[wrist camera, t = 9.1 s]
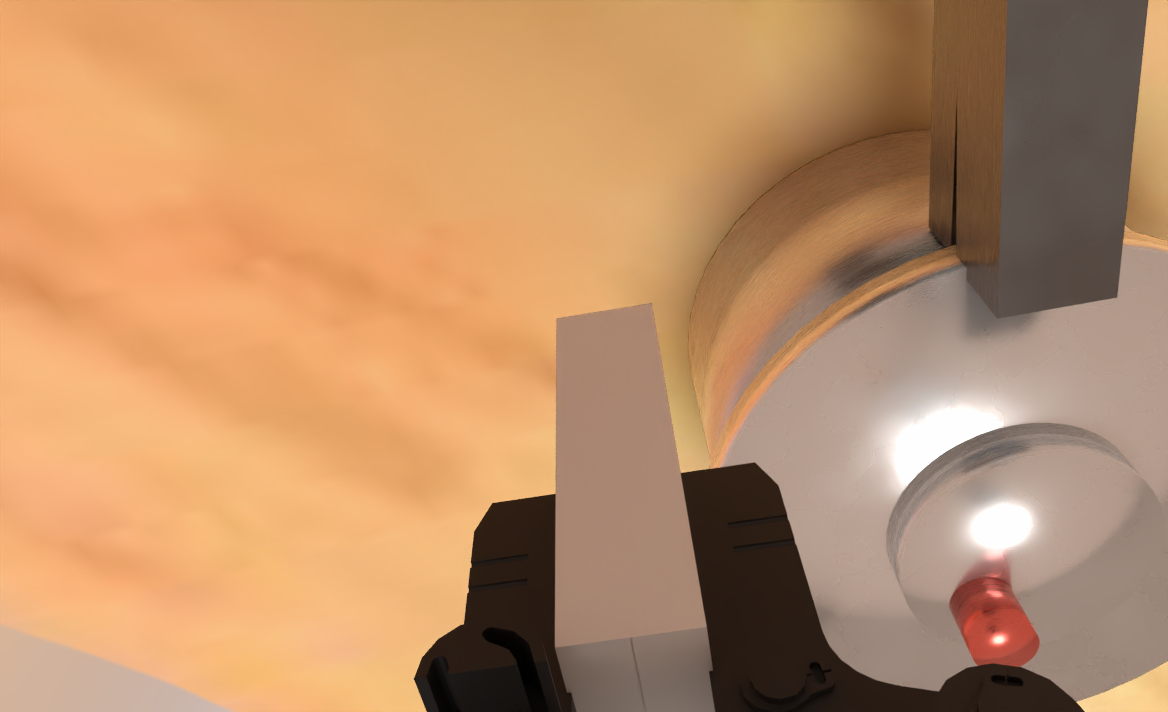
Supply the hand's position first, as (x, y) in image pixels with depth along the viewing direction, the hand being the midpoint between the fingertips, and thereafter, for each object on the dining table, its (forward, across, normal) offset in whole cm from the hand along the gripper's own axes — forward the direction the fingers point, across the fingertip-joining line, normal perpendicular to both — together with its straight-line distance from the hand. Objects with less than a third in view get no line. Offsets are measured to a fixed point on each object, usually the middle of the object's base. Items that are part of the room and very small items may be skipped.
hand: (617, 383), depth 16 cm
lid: (+12, +11, -10) cm, 19 cm away
